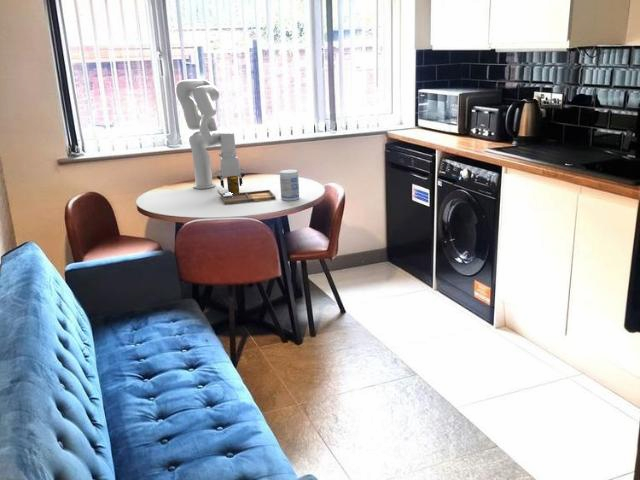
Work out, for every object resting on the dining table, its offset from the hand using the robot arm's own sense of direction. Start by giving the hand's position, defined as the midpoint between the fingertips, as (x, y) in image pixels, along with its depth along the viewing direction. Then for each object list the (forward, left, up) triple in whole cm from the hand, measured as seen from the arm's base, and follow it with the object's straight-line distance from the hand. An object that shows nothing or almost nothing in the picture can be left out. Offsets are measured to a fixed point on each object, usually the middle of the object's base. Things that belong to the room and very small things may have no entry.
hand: (231, 186), depth 321 cm
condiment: (0, 0, -4) cm, 4 cm away
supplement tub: (+24, +27, -4) cm, 37 cm away
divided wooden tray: (+14, +6, -4) cm, 16 cm away
